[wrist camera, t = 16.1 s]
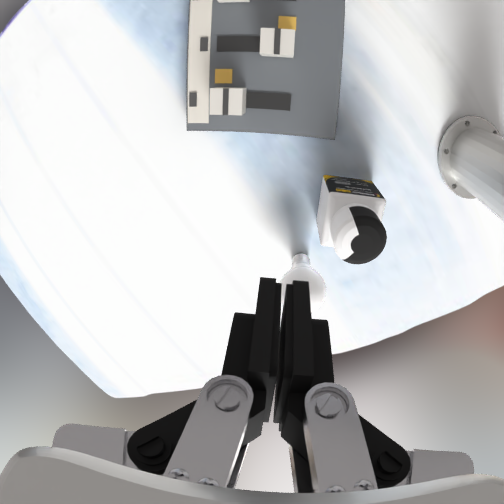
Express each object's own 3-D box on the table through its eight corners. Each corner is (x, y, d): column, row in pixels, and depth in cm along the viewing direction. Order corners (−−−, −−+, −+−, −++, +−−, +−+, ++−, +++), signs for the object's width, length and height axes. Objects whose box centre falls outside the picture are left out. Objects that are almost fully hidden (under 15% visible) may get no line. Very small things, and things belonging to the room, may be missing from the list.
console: (341, -20, 26) (346, -28, 23) (331, 135, 37) (335, 140, 35) (198, -25, 27) (191, -33, 24) (193, 126, 38) (185, 131, 36)
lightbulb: (273, 248, 47) (270, 294, 38) (314, 235, 45) (320, 280, 36) (288, 280, 50) (287, 329, 40) (326, 268, 48) (334, 317, 39)
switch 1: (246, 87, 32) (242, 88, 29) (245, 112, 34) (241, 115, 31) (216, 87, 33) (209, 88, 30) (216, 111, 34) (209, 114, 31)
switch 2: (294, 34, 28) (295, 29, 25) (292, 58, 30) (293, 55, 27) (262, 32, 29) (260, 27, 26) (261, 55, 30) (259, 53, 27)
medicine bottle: (372, 180, 40) (400, 218, 30) (363, 226, 44) (383, 274, 33) (322, 173, 40) (335, 209, 30) (315, 221, 44) (324, 269, 34)
